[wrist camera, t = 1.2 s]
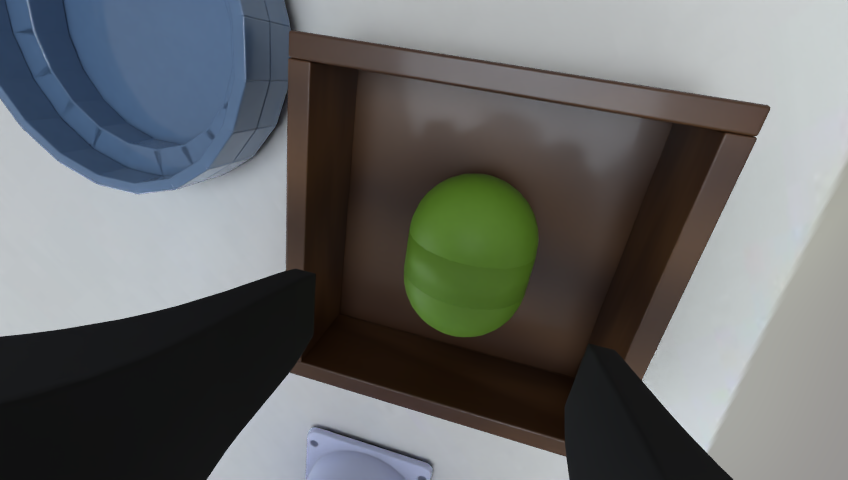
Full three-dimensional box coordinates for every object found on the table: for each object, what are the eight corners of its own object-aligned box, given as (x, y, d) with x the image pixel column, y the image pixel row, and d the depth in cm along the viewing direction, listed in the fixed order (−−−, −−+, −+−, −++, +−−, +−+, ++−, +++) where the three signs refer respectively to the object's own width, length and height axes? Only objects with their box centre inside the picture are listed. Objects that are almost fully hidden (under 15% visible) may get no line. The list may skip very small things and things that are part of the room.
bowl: (294, 199, 20) (250, 222, 16) (75, 149, 22) (-2, 161, 18) (301, -141, 14) (238, -204, 11) (12, -166, 16) (-111, -225, 13)
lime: (512, 309, 18) (508, 379, 14) (413, 284, 19) (380, 343, 15) (550, 174, 16) (560, 210, 12) (434, 151, 17) (402, 177, 12)
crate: (584, 387, 20) (600, 468, 16) (329, 317, 22) (284, 371, 18) (702, 98, 14) (773, 106, 10) (346, 42, 16) (287, 29, 12)
